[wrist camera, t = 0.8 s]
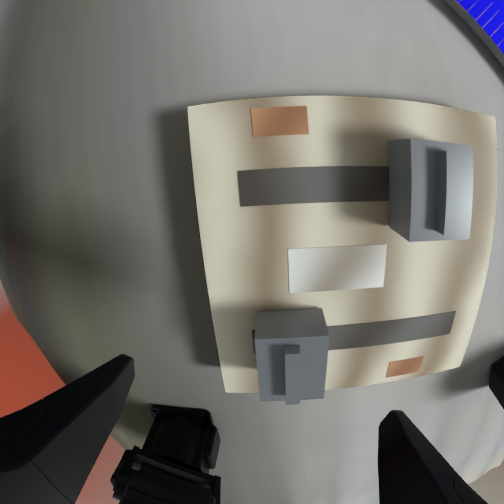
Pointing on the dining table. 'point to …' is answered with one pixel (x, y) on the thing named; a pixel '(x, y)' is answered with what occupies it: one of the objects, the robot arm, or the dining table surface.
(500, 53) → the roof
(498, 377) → the battery
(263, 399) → the switch tab
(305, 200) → the switch board
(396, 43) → the dining table surface
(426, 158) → the switch tab
